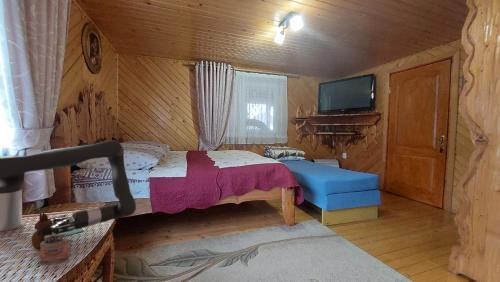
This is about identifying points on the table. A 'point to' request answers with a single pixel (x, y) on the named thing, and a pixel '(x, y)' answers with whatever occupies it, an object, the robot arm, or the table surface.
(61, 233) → the mat
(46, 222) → the wooden figurine
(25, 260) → the table surface
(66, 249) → the lighter
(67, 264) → the table surface
